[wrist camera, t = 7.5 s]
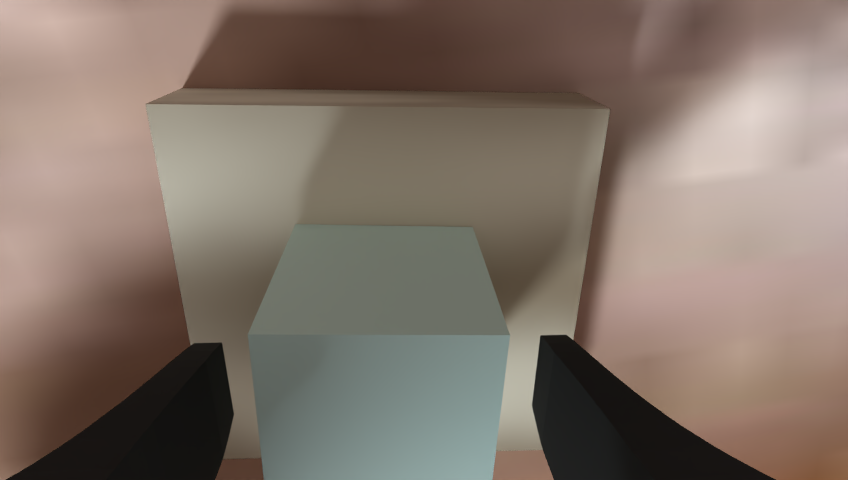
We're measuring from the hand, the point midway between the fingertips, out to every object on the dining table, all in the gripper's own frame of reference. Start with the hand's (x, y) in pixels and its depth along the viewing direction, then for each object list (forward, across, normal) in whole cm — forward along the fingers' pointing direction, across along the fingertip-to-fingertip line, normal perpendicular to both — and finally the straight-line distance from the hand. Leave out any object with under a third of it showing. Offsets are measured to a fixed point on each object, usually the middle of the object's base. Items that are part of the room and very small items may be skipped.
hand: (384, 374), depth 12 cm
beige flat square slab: (+6, 0, 0) cm, 6 cm away
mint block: (+3, 0, 0) cm, 3 cm away
